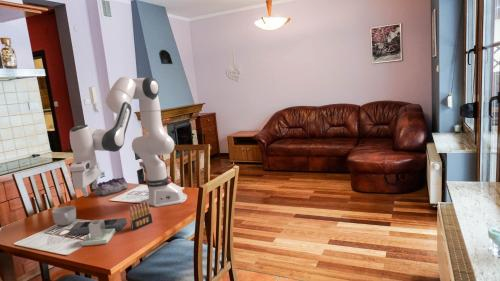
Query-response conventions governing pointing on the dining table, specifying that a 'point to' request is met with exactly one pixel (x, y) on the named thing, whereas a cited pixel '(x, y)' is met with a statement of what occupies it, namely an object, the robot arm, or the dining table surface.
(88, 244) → the tray
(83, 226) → the rail
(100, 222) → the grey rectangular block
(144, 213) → the ammunition clip
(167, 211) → the dining table surface
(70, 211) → the teacup
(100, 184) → the geode
